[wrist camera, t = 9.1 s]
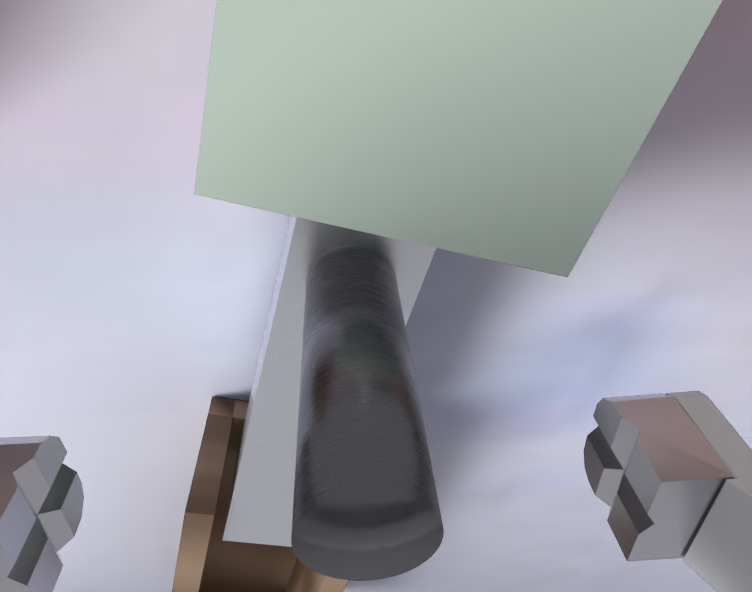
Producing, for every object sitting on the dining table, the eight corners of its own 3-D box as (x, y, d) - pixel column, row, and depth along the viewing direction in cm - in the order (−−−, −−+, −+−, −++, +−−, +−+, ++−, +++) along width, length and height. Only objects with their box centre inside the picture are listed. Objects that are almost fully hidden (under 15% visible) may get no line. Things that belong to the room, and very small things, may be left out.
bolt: (318, 472, 20) (313, 792, 13) (235, 461, 20) (180, 792, 12) (486, -6, 12) (748, 130, 4) (350, -52, 11) (393, 20, 4)
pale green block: (485, 152, 15) (567, 277, 10) (244, 87, 14) (193, 194, 8) (572, -62, 12) (745, -42, 7) (282, -168, 11) (244, -237, 6)
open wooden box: (297, 590, 27) (292, 700, 23) (180, 581, 26) (155, 695, 22) (363, 419, 20) (371, 531, 17) (212, 396, 19) (184, 512, 16)
